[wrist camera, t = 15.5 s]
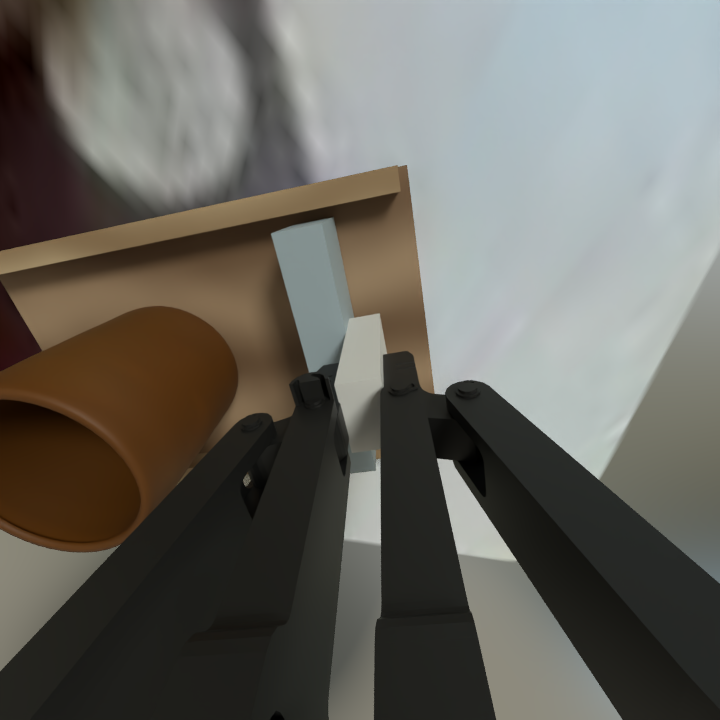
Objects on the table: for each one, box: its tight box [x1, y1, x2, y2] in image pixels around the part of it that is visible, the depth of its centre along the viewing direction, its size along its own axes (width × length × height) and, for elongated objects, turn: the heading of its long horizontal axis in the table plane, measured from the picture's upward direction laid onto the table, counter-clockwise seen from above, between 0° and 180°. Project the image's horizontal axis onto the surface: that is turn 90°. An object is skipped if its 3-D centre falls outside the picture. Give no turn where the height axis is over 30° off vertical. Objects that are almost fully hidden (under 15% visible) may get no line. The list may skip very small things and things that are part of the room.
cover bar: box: [271, 217, 376, 473], centre depth 18 cm, size 12×2×4 cm, turn 11°
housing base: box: [0, 165, 434, 483], centre depth 20 cm, size 15×22×3 cm
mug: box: [0, 306, 238, 552], centre depth 17 cm, size 12×8×9 cm, turn 80°
